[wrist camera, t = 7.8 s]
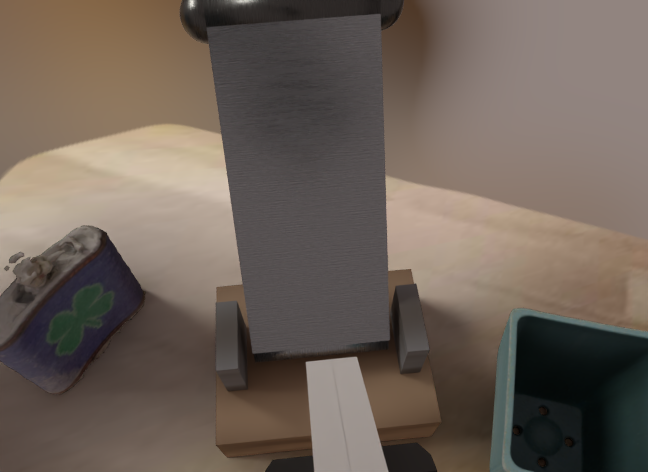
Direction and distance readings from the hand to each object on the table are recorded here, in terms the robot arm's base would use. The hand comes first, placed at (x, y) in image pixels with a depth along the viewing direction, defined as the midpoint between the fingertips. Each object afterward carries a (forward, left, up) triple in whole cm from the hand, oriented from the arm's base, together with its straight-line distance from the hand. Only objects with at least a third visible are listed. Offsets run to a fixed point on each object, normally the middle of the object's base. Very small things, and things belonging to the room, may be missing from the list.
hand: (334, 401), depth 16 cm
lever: (-3, +7, -15) cm, 17 cm away
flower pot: (+11, +7, -21) cm, 25 cm away
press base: (-3, +7, -20) cm, 22 cm away
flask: (-19, +4, -21) cm, 28 cm away
